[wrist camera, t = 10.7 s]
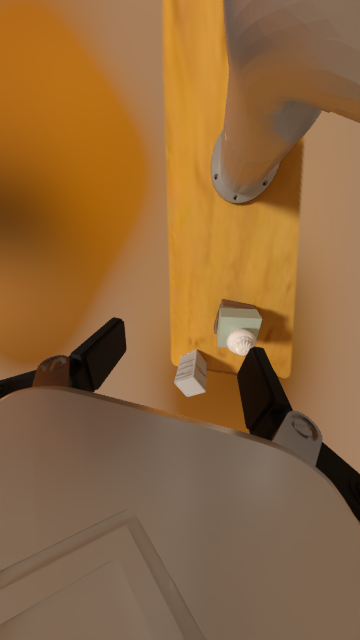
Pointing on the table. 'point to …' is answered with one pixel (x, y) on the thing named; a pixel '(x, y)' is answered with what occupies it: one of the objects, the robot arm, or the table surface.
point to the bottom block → (231, 305)
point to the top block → (236, 323)
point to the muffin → (241, 341)
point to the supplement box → (191, 374)
